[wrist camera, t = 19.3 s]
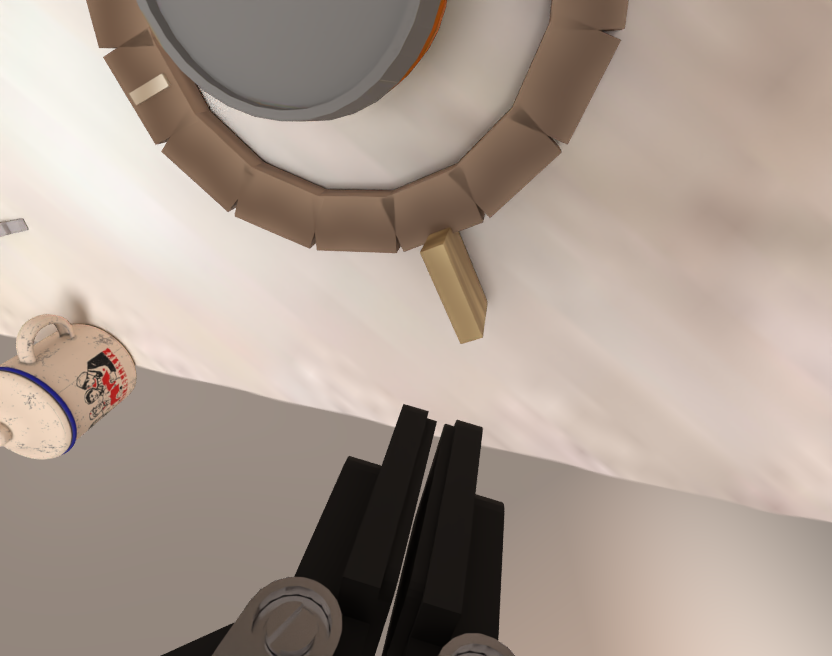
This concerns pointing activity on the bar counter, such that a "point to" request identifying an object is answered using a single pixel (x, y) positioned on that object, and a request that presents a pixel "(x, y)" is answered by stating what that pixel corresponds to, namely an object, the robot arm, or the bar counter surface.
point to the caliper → (12, 227)
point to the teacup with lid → (60, 386)
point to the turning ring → (374, 209)
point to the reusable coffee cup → (295, 50)
